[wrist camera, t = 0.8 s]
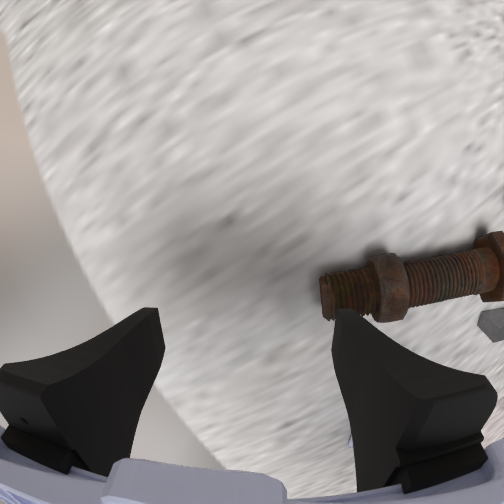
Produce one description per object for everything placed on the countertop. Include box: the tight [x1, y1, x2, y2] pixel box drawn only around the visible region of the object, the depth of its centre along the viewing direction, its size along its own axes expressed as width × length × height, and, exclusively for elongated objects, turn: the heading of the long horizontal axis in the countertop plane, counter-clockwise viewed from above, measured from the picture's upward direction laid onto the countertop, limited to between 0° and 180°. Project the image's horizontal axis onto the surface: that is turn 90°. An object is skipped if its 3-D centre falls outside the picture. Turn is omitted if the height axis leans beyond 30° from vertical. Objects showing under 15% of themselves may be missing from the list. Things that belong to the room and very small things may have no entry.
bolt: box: [319, 231, 504, 323], centre depth 19 cm, size 6×5×15 cm
